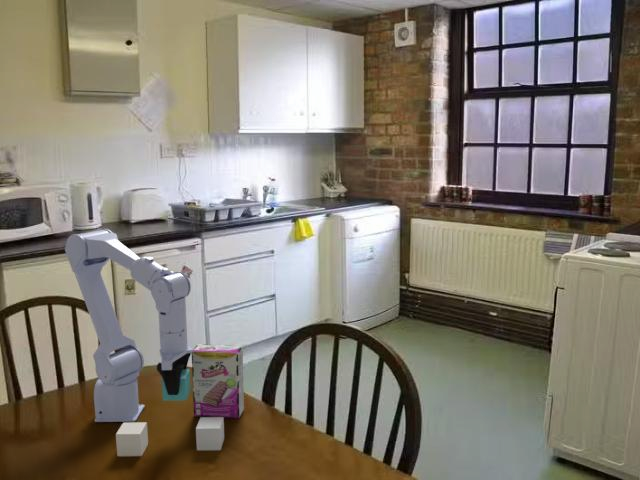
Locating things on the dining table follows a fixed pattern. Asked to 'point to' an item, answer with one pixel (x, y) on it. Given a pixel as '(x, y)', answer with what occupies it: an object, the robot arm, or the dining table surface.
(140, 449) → the offwhite block
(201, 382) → the candy bar box
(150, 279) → the robot arm
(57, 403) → the dining table surface
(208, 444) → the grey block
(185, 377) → the teal block
